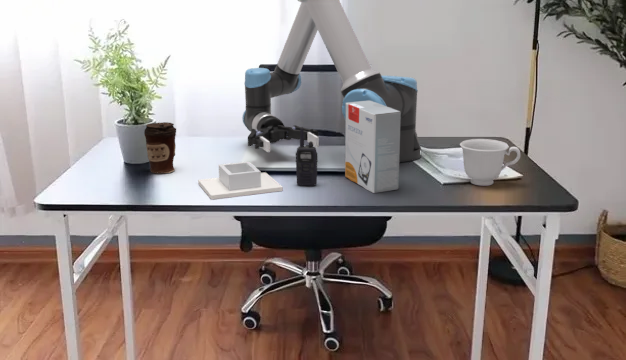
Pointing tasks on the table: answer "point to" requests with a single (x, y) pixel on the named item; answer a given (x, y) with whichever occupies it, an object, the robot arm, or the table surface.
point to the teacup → (485, 159)
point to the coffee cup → (160, 146)
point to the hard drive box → (372, 145)
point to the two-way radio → (306, 163)
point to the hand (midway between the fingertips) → (293, 144)
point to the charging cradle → (239, 181)
